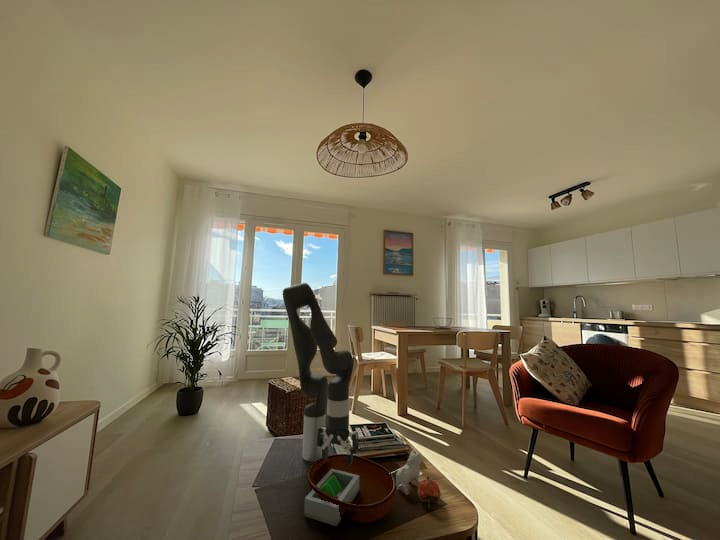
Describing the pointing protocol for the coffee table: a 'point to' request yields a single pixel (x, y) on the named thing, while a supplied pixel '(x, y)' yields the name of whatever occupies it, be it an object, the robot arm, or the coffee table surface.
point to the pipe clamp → (330, 486)
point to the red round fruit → (429, 491)
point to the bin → (326, 509)
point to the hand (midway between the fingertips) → (337, 462)
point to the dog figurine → (409, 471)
